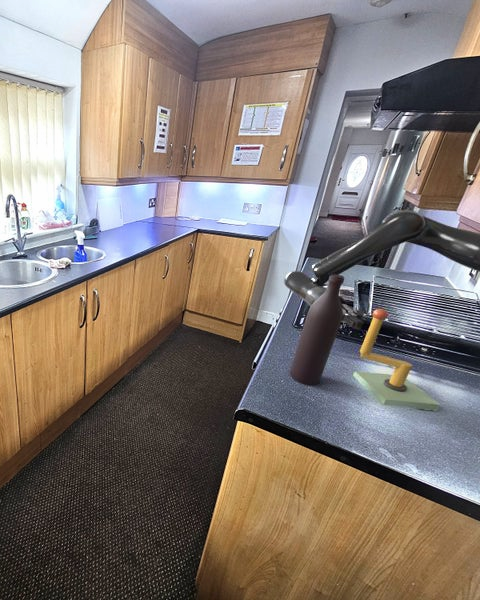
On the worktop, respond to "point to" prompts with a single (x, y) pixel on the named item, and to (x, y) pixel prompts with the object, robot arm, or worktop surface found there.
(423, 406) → the stand
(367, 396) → the worktop surface
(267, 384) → the worktop surface
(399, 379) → the rod
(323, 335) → the wine bottle
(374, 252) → the robot arm
